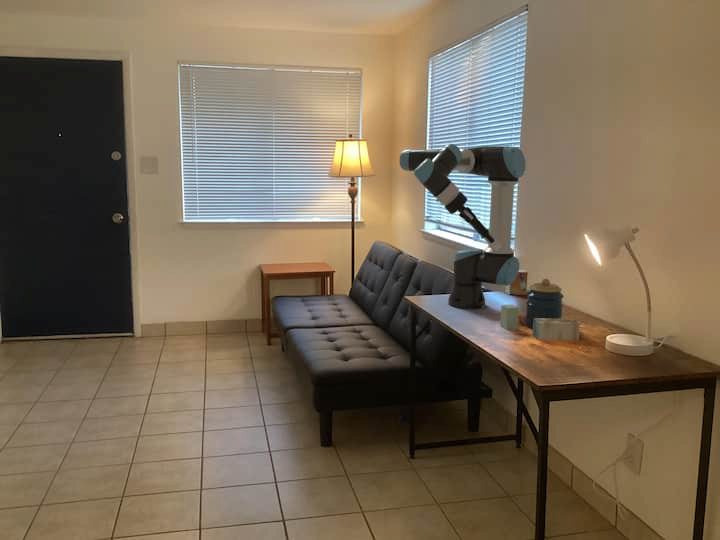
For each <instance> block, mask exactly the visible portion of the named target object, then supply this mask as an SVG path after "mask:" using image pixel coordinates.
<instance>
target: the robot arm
mask: <svg viewBox="0 0 720 540" xmlns="http://www.w3.org/2000/svg"><path fill="white" fill-rule="evenodd" d="M399 166H400V168H401V169H402V170H404V171H406V172H407V171H408V172H413V176H415V178H416V179H417V180H418V181H419V183H420V184H421V185H422V186H423V187H425V189H426V190H427V191H428V192H429V193H430V194H431V195H432V196H433V197H434V198H435V202H436V203H438V202H439V203H440V204H441V205H442V206H444V209H445V210H446V211H448V213H449V214H451V215H454V214H455V213H456V212H459V213H458V216H459V217H460V218H461V219H462V220H464V221H465V222H466V223H467V224H469V225H470V226H471V227H472V228H473V229H474V230H475V231H476V232H477V233H478V235H480V238H481V239H482V240H483V239H484V240H485V241H486V242H487V244H488V246H487V247H486V248H485V249H482V248H472V249H471V248H470V249H461V250H457V251H456V252H455V254H454V257H453V258H454V260H453V278H452V279H453V280H452V281H453V283H452V285H453V286H452V288H451V290H450V294H449V296H448V301H447V302H448V303H447V304H448V305H449V306H451V307H454V308H458V309H459V308H460V309H479V308H478V307H481V308H483V307H482V306H484V305H485V306H486V298H485V295H484V290H483V287H482V286H483V284H484V283H485V284H490V285H496V286H505V287H506V286H507V285H510V284H512V283H513V282H514V280H515V279H516V277H517V275H518V271H519V270H520V262H519V259H518V258H517V257H516V256H515V251H514V250H513V249H512V247H511V246H512V227H513V225H512V224H513V214H514V213H513V211H514V197H515V196H514V194H515V192H514V191H515V186H516V185H517V184H518V183H519V179H520V178H522V177H523V176H524V174H525V172H526V158H525V155H524V153H523V151H522V150H521V149H520V148H519V147H517V146H511V145H510V146H509V145H507V146H506V145H505V146H503V145H501V146H492V145H491V146H487V145H486V146H477V147H470V148H461V149H460V148H459V147H458V146H457V145H456V144H453V143H448V144H446V145H445V146H443V147H442V148H441V149H405V150H402V152H401V154H400V155H399ZM452 172H458V173H461V174H469V175H473V176H479V177H480V176H481V177H487V182H488V183H489V185H490V186H491V188H490V189H491V193H490V208H489V209H490V210H489V228H486V226H485V225H484V224H483V223H482V222H481V221H480V220H479V219H478V217H477V215H476V214H474V212H473V211H472V209H471V208H470V207H468V206H465V204H466V203H467V202H468V198H467V196H466V195H465V194H464V193H463V192H462V191H460V189H459V188H458V186H456V184H455V183H454V182H452V180H450V178H449V175H450V174H451V173H452ZM485 306H484V307H485Z"/></svg>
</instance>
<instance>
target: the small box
mask: <svg viewBox="0 0 720 540" xmlns="http://www.w3.org/2000/svg"><path fill="white" fill-rule="evenodd" d="M528 274H529V273H528V271H527V270H525V269H519V271H518V275H517V277H516V279H515V280H514V282H513V283H512V284H510V285H507V286H505V293H506V294H508V295H509V294H513V295H517V296H518V295H520V296H527V288H528V286H527V285H528Z"/></svg>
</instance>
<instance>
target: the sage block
mask: <svg viewBox="0 0 720 540" xmlns="http://www.w3.org/2000/svg"><path fill="white" fill-rule="evenodd" d="M519 311H520V307H519V306H517V305H515V304H502V305H501V306H500V323H499V324H500V325H499V326H500V328H502V329H503V330H506V331H508V330H509V329H513V330H518V329H519V328H518V327H519V315H520V314H519ZM509 331H510V330H509Z"/></svg>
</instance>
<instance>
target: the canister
mask: <svg viewBox="0 0 720 540" xmlns="http://www.w3.org/2000/svg"><path fill="white" fill-rule="evenodd" d="M529 289H530V290H529V291H528V292H527V291H526V296H527V301H526V303H525V304H526V307H525V308H526V310H525V317H524V322H525V326H526V327H528V328H530V329H533V320H534V318H555V319H563V307H564V304H563V299H564V297H565V295H564V294H563V293H562V290H563V289H562V288H561V287H560V286H559V285H557V284H555V283H550V280H549V279H548V278H544V279H543V280H541V282H538V283H537V282H536V283H533V284H532V285H530V286H529Z"/></svg>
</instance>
